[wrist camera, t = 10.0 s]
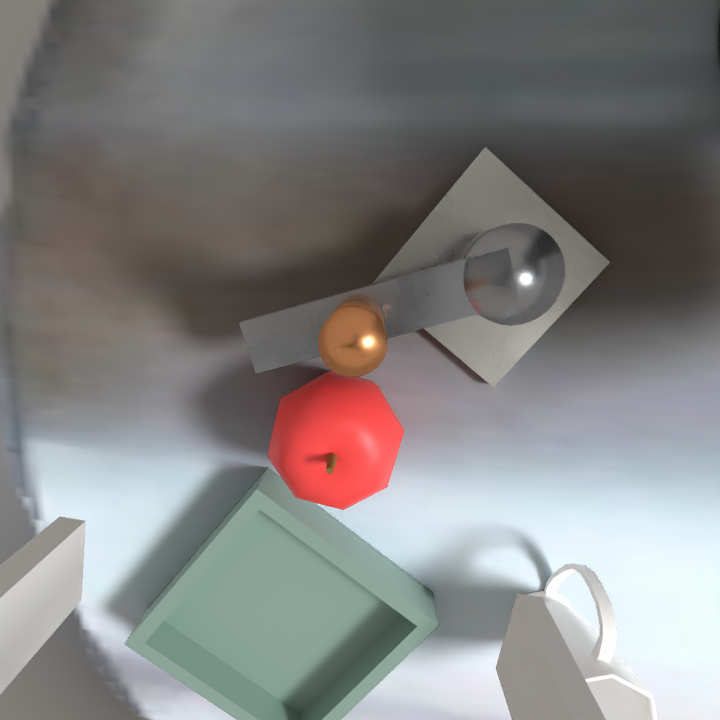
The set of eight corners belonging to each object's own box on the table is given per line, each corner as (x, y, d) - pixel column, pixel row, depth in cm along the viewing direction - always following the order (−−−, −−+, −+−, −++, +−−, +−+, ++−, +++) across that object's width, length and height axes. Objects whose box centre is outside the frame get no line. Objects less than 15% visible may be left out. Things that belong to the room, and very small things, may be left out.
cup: (485, 649, 33) (520, 768, 25) (513, 529, 31) (562, 618, 23) (578, 662, 33) (642, 785, 25) (613, 543, 31) (695, 637, 23)
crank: (539, 214, 24) (650, 182, 14) (557, 307, 24) (670, 333, 15) (242, 299, 25) (166, 319, 16) (270, 383, 26) (213, 450, 16)
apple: (425, 406, 30) (444, 457, 22) (352, 493, 31) (346, 571, 23) (327, 333, 29) (311, 359, 21) (257, 426, 30) (217, 484, 22)
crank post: (482, 150, 26) (496, 134, 23) (603, 262, 27) (633, 262, 24) (371, 283, 28) (371, 286, 25) (490, 383, 29) (504, 398, 26)
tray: (267, 467, 31) (256, 488, 28) (432, 592, 32) (438, 625, 29) (146, 610, 33) (124, 644, 30) (304, 719, 35) (298, 760, 32)
